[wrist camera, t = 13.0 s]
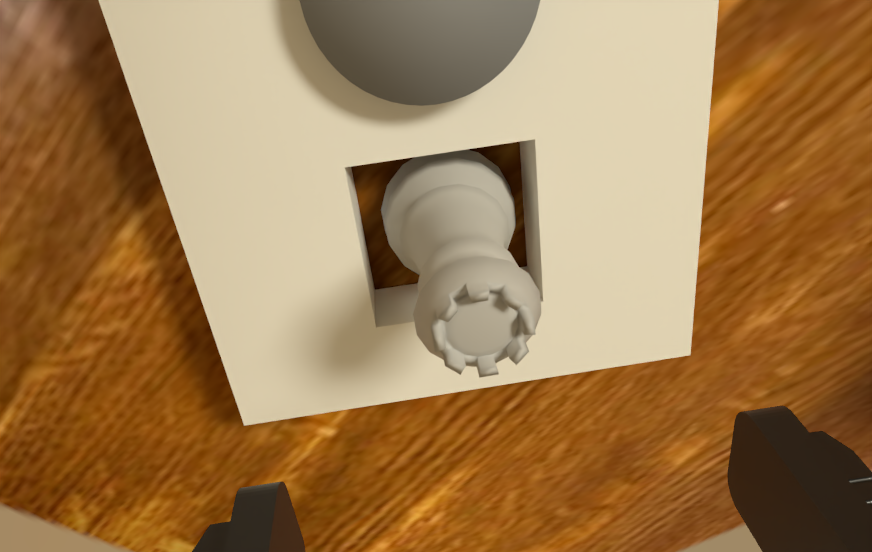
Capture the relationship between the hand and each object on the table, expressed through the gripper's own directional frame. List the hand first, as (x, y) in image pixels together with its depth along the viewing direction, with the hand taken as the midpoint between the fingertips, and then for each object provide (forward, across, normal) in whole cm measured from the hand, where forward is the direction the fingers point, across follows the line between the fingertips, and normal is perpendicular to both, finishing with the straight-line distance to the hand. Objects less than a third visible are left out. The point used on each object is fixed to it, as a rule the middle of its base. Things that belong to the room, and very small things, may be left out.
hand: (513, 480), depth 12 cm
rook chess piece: (+13, 0, 0) cm, 13 cm away
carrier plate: (+13, 0, -3) cm, 13 cm away
